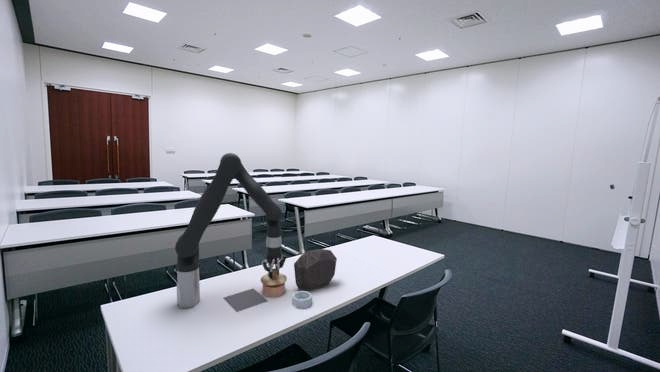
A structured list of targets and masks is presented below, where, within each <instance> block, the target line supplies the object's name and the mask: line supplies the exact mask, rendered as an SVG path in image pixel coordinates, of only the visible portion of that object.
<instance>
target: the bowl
mask: <svg viewBox="0 0 660 372" xmlns="http://www.w3.org/2000/svg"><path fill="white" fill-rule="evenodd" d="M285 283H286V282H285ZM285 283H283V284H280V285H276V286H269V285H265V284H263V283H262V294H263V296H264V297H265V296H266V297H271V298H272V297H275V298H276V297H279V296H283V294H285V292H286V291H285V290H286V289H285V288H286V284H285Z"/></svg>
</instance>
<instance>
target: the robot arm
mask: <svg viewBox="0 0 660 372" xmlns="http://www.w3.org/2000/svg"><path fill="white" fill-rule="evenodd" d="M234 179H235V180H236V181H237V182H238V183H239V184H240V186H241V187H242V188H243V190H244V191H245V192H246V193H247V194H248V197H250V198H251V199H252V201H253V202H255V204H256V205H257V206H258V207H259V208H260V209H261V210H262V211H263V212H264V214H265V217H266V243H265V244H266V245H265V247H266V249H265V250H266V252H265V253H266V255H265V259H262V260H261V261H260V263H261V265H262V267H263V269H264V271H266V272H267V274H268V277H269V278H271V279H272V270H273V269H274V267H275V269H277V270H278V275H279V273H280V269H283V267H284V265H285V262H286V259H287V257H286V255H282V245H283V244H282V226H281V219H282V217H283V210H282V209H281V208H280V207H279V206H278V205H277V203H276V202H274V200H273V199H272V198H271V196H270V195H269V194H268V192H266V190H265V189H264V188H263V187H262V186H261V185H260V184H259V182H257V180H255V179H254V178H253V176H251V175H250V173H249V172H248V171H247V169H246V168H245V167H244V164H243V163H242V161H241V158H240V157H239V156H238V154H235V153H234V152H233V153H232V152H227V153H225V154H223V155H222V157H221V158H220V160H219V166H218V168H217V171H216V172H215V175H214V177H213V179H212V180H211V182H210V183H209V184H208V186H207V187H206V188H205V190H204V191H203V192H202V195H201V196H200V197H199V199H198V202H197V203H196V204H195V207H194V210H193V212H192V215H191V218H190V220H189V223H188V225H187V227H186V229H185V230H184V231H183V233H182V234H181V235H180V236H179V237H178V238H177V240H176V242H175V247H174V250H175V253H176V255H177V260H176V261H177V262H176V273H177V276H176V278H177V279H176V280H177V284H176V285H175V286H176V303H177V305H178V307H179V308H180V310H181V309H189V308H193V307H195V306H197V305H199V304H200V303H201V289H200V286H201V285H200V284H201V283H200V245H199V244H200V242H201V240H202V237H203V235H204V233H205V231H206V230H207V228H208V226H209V225H210V224H211V222H212V220H213V219H214V217H215V216H216V214H217V213H218V211H219V208H220V207H221V205H222V204H223V203H222V202H223V200H224V199H225V196H226V193H227V192H228V189H229V186H230V185H231V183H232V181H233V180H234Z"/></svg>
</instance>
